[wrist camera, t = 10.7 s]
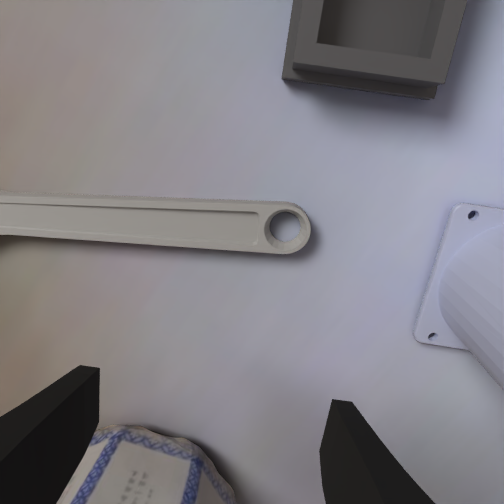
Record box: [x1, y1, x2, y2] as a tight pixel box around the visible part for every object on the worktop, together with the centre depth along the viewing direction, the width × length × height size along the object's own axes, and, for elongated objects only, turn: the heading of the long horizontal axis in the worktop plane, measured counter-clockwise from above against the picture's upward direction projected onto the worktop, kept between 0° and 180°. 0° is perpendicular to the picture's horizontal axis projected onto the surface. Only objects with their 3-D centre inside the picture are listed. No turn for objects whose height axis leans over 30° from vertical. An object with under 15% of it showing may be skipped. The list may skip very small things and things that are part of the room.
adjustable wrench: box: [0, 190, 311, 254], centre depth 21 cm, size 25×6×2 cm, turn 83°
